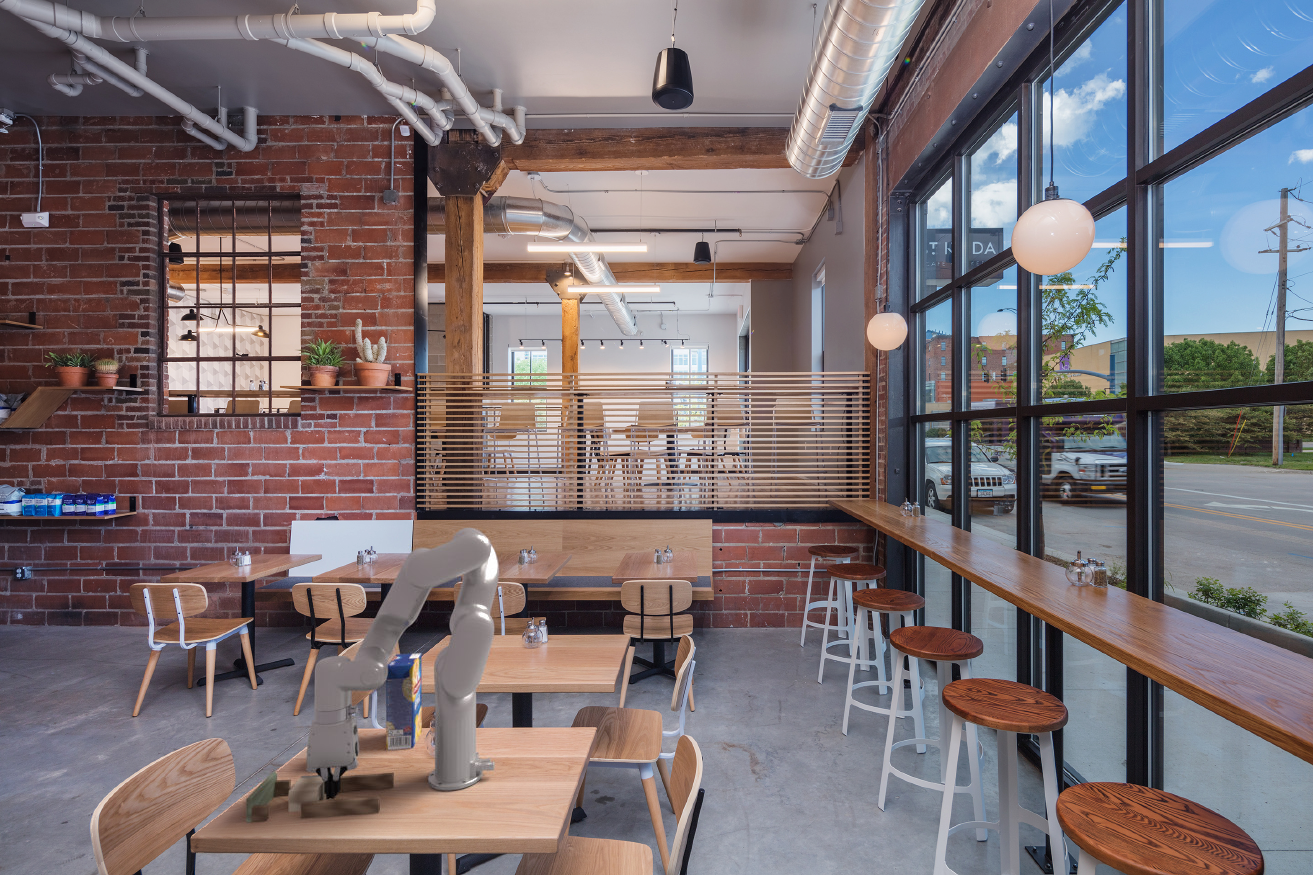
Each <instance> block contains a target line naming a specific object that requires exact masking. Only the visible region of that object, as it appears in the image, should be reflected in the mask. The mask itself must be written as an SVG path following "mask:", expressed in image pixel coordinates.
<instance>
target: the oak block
mask: <svg viewBox="0 0 1313 875" xmlns="http://www.w3.org/2000/svg"><path fill="white" fill-rule="evenodd" d="M323 800H327V799H326V794H324V781H322V778H321V777H308V778H301V777H299V778H298V779H297V781H296V782H295V783H294V784H293V785H292V786H291V789H290V790H289V795H288V813H293V812H301V804H302V802H308V801H323Z"/></svg>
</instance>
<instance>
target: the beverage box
mask: <svg viewBox="0 0 1313 875" xmlns="http://www.w3.org/2000/svg"><path fill="white" fill-rule="evenodd" d="M422 656H423V655H422V652H417V653H397V654H395V655H394V657H393V658H392V659H391V660H390V661H389V663H387V666H388V675H387V678H386V681H385V682H386V683H385V684H386V685H385V687H386V689H385V690H386V692H385V693H386V696H385V697H386V699H385V701H386V703H385V705H386V708H385V711H386V712H385V713H386V715H385V717H386V718H385V719H386V720H385V724H386V725H385V730H386V733H385V738H386V742H385V747H386V748H385V750H386V751H391V750H392V751H393V750H404V749H405V750H406V749H414V747H415V745H416V744H417V741H418V739H419V738H420V735H421V733H422V730H423V729H422V725H423V724H422V722H423V721H422V719H423V718H422V716H423V715H422V714H423V713H422V712H423V711H422V708H423V706H422V699H423V698H422V695H423V694H422V680H423V678H422V670H423V669H422V668H423V667H422V664H423V663H422V659H423V658H422Z"/></svg>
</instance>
